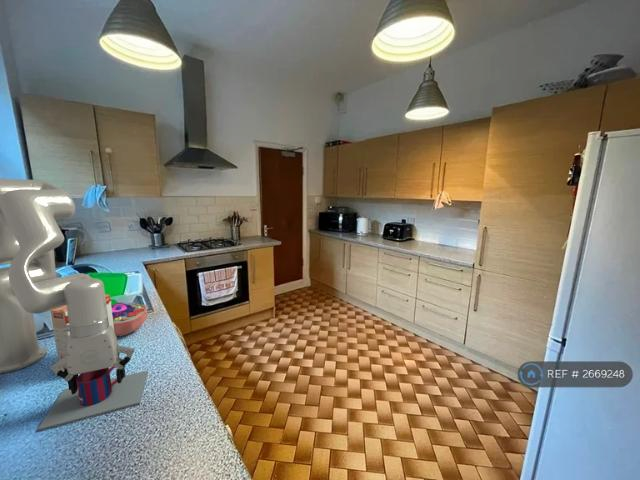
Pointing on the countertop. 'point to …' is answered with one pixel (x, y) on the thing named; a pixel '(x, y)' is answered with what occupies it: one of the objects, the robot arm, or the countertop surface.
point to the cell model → (128, 317)
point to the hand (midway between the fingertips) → (99, 385)
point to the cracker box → (62, 320)
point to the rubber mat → (120, 398)
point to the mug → (94, 386)
